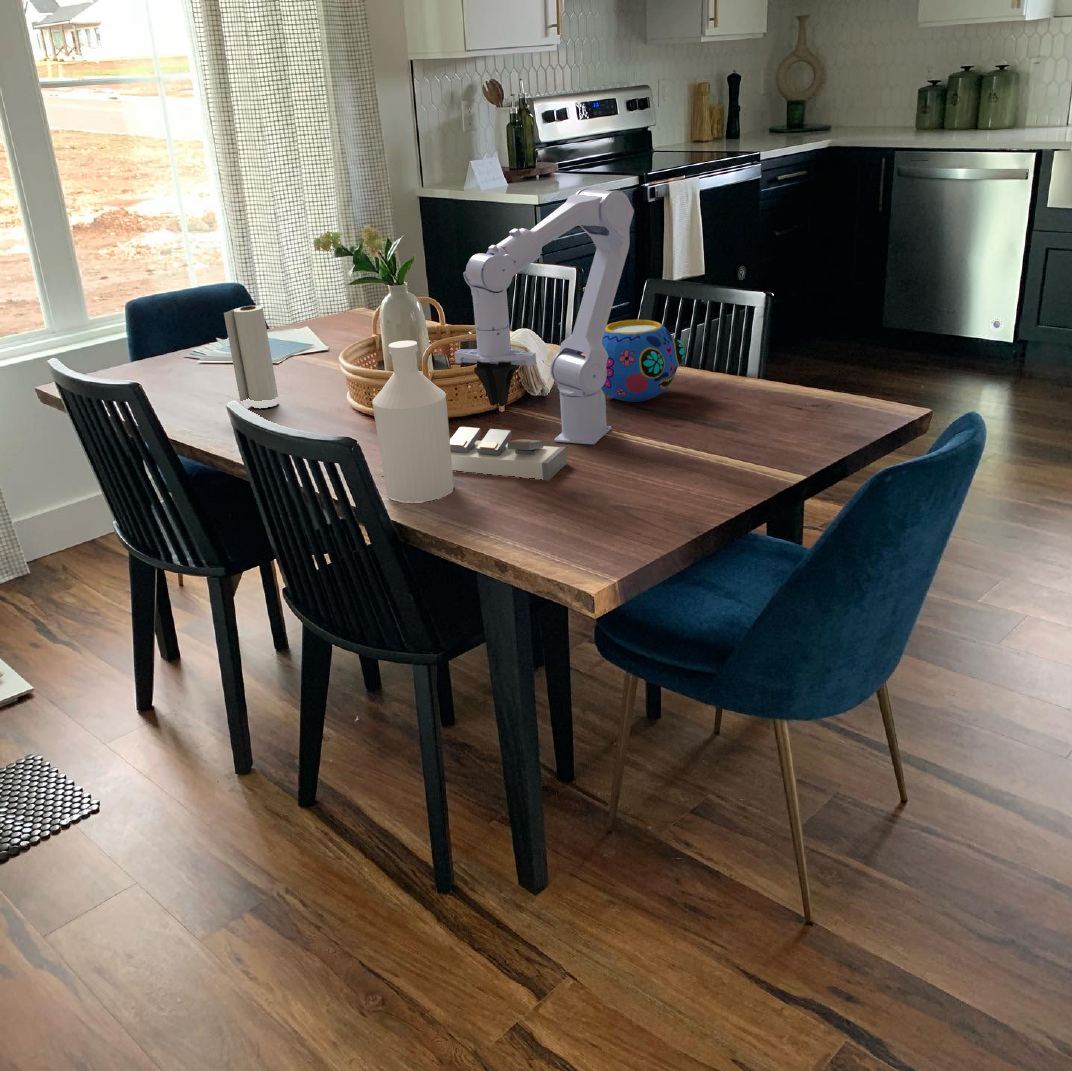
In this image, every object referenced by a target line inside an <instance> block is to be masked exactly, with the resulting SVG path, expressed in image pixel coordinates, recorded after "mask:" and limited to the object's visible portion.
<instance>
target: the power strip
mask: <svg viewBox="0 0 1072 1071" xmlns="http://www.w3.org/2000/svg"><path fill="white" fill-rule="evenodd" d="M449 438H450V439H451V438H452V437H449ZM481 441H482V440H477V441H476V442H475V443H474V445H473V446H472V447H471V449H470V450H469V452H468V453H462V452H451V461H452V470H458V471H464V472H463V473H466V472H476V473H475V474H477V473H483V474H482V475H487V474H492V475H491V476H498V475H509V476H515V477H514V478H519V477H522V478H521V479H529V478H535V479H534V480H540V479H542V480H541V481H550V480H551V479H552V478H553V477H554V476H555V475H556V474H558V472H560V471H561V470H562V469H563V468H564V467H565V466H567V464H568V461H567V458H568V457H567V447H566V446H550V445H549V446H547V445H543V448H539V449H534V450H518V449H508V443H507V444H506V446H505V447H504V449H503V450H502V451H501V453H500V454H499V456H496V455H485V454H478V453H477V449H476V448H477V447H478V445H479V444H480V442H481ZM560 469H561V470H560Z"/></svg>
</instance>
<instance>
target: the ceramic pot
mask: <svg viewBox="0 0 1072 1071" xmlns="http://www.w3.org/2000/svg"><path fill="white" fill-rule="evenodd" d="M602 345H603V346H604V348H605V350H606V352H607V354H608V359H607V364H606V369H607V377H606V381H605V383H604V385H603V387H602V388H601V389H602V391H603V392H604V394H606V395H607V396H609V397H611V398H613V399H616V400H618V401H624V402H629V403H630V402H631V403H636V402H637V403H638V402H645V401H647V400H651V399H653V398H656V397H657V396H659V395H661V394H663V393H664V392H665V391H667V390H668V388H669V387H670V385H671V383H672V382H673V380H674V378H675V376H676V373H677V370H678V368H679V367H680V365H681V364H682V363H683V361H684V359H685V354H686V352H685V346H684V344H683V343H682V341H681V340H679V339H678V338H675V337H674V336H673V335H672V334H671V333H670V332H669V330H668V329H667V327H666V326H664V325H663V323H660V322H658V321H654V320H649V319H625V320H619V321H616V322H611V323H609V324H607V325H606V329H605V332H604V336H603V339H602Z"/></svg>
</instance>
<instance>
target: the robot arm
mask: <svg viewBox="0 0 1072 1071" xmlns="http://www.w3.org/2000/svg"><path fill="white" fill-rule="evenodd" d="M634 213H635V210H634V208H633V205H632V204H631V202H630V199H629V197H628V196H627V194H625V192H624V191H621V190H601V189H592V188H588V187H584V188H581V189H579V190H578V191H577V192H575V193H573V194H571V195H569V196H568V197H567V199H566V201H565V202H564V203H563V204H561V205H559V207H557V208H556V209H555V210H554V211H553V212H551V213H550V214H549V215H547V216H546V217H545V218H543V219H542V220H540V222H538V223H537V224H536V225H535V226H533V227H532V228H531V229H527V228H524V227H521V228H513V229H511V230H510V231H508V233H509V236H508V237H506V238H504V239H503V240H501V241H500V242H498V243H497V244H496V245H495V244H491V245H490V246H488V250H487V251H486V253H484V252H482V253H480V252H478V253H475V254H474V255H472V256H471V257H470V258H469V260H468V262H467V264H466V265H465V266H466V268H465V271H464V272H463V273H462V275H463V278H464V281H465V282H466V284H467V285H468V286H469V288H470V290H471V292H470V293H471V296H472V303H473V304H472V306H473V313H474V314H473V315H474V316H473V317H474V328H475V337H476V345H477V346H476V348H472V349H471V348H469V349H468V348H467V349H465V348H464V349H458V350H456V351H455V352H454V361H455V364H462V363H470V364H471V363H473V364H474V363H475V364H476V365H475V367H474V368H473V372H474V374H475V375H476V376H477V378H478V379H479V381H480V383H481V385H482V386H483V388H484V390H485V394H486V396H487V398H488V401H489V404H490V407H491V406H492V407H494V406H496V405H498V406H499V407H505V406H506V405H507V404H508V399H509V392H510V387H511V384H512V380H513V377H514V375H515V373H516V370H517V368H518V366H526V367H527V368H528V367H529V368H530V367H533V366H535V365H537V354H536V352H532V351H531V352H530V351H523V350H519V349H512V344H511V331H510V330H511V329H510V320H509V306H508V293H507V289H508V288H509V287H510V285H511V284H512V281H513V277H514V276H515V275H517V274H518V273H520V272H521V271H522V270H524V269H525V268H527V267H528V266H530V265H531V264H532V263H534V262H535V261H537V260H538V259H539V258H540V257H541V253H542V248H543V247H544V246H546V245H548V244H549V243H551V242H553V241H555V240H556V239H557V238H559V237H561V236H563V235H564V234H566V233H567V232H569V231H570V230H572V229H574V228H575V227H577V226H579V227H580V228H581V229H582V230H583V231H584V232H585V233H586V234H587V235H588V236H589V237H590V238H591V241H592V242H593V244H594V246H595V248H596V249H595V253H594V257H593V260H592V264H591V266H590V270H589V274H588V277H587V282H586V285H585V288H584V292H583V295H582V297H581V303H580V306H579V310H578V313H577V317H576V319H575V324H574V327H573V329H572V330H573V331H572V333H571V335H569V336H568V337H567V338H565V339H564V340H562V342H561V343H560V347H559V349H558V351H557V353H556V354H555V355H554V357H553V358H552V360H551V363H550V367H549V371H550V376H551V378H552V380H553V381H554V382H555V383H556V384H557V390H559V400H560V419H561V421H560V422H561V433H559V435H557V436H556V437H555V438H554V440H553V441H554V442H557V443H569V444H570V443H571V444H581V445H582V444H583V445H596V443H598V442H599V441H600V440H601V439H602V438H604V436H605V435H606V434H608V432H610V430H612V426H611V425H607V405H606V404H607V403H606V402H607V401H606V395H605V392H603V391H602V389H601V388H602V387H603V385H604V383H605V381H606V377H607V369H606V364H607V359H608V354H607V352H606V350H605V348H604V346H603V345H602V339H603V336H604V332H605V329H606V326H607V325H608V321H609V318H610V315H611V312H612V307H613V304H614V301H615V298H616V293H617V291H618V287H619V284H620V281H621V280H620V279H621V277H622V273H623V269H624V267H625V262H626V259H627V256H628V253H629V249H630V227H631V223H632V220H633V216H634Z"/></svg>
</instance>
